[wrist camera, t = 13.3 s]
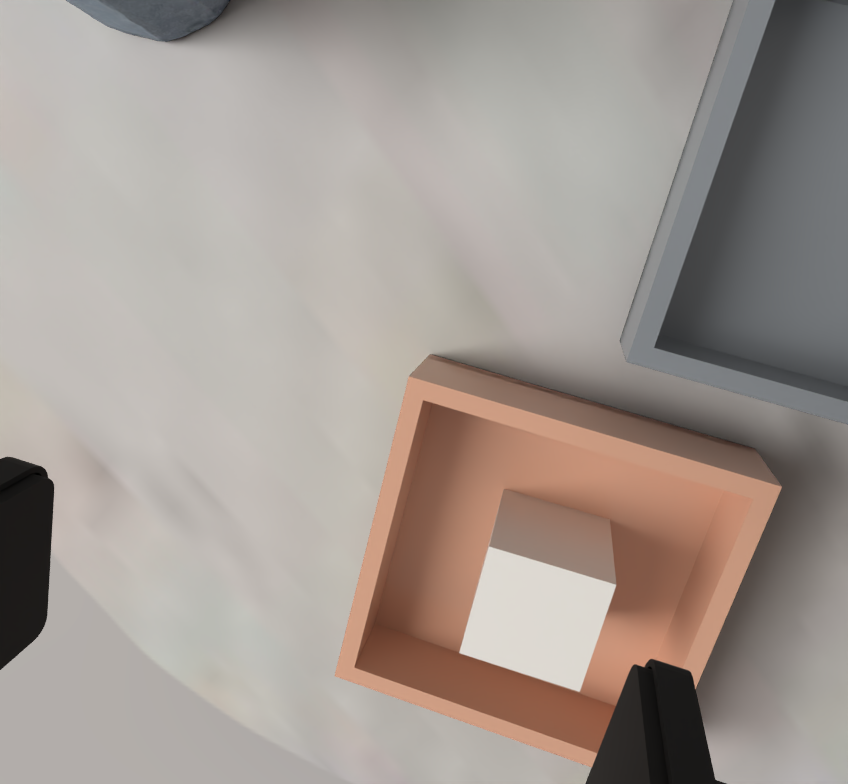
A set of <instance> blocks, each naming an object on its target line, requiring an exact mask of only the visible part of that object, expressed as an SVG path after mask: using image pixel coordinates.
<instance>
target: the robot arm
mask: <svg viewBox="0 0 848 784" xmlns="http://www.w3.org/2000/svg"><path fill="white" fill-rule="evenodd" d="M53 501H54V484H53V482H52V480H50V479H49V478H48V474H47V472H46V470H45V469H44V468H43V467H41V466H38V465H35V464H32V463H29V462H25V461H22V460H19V459H16V458H13V457H5V458H2V459H0V670H1V669H2V668H3V667H4V666H5V665H6V664H8V663H9V662H10V661H11V660H12V659H13V658H15V657H16V656H17V655H18V654H19V653H20V652H21V651H23V650H24V649H25V648H26V647H27V646H28V645H29V644H30V643H32V642H33V641H34V640H35V639H36V638H37V637H38V635H39V634H40V633H41V631H42V629H43V627H44V625H45V622H46V619H47V609H48V590H49V572H50V555H51V537H52V519H53ZM586 784H726V783H723V782H720V781H717V780H715V777H714V772H713V767H712V763H711V758H710V754H709V749H708V744H707V740H706V735H705V731H704V726H703V722H702V717H701V712H700V708H699V703H698V699H697V694H696V689H695V685H694V680H693V676H692V674H691V672H690V671H689V670H686V669H683V668H680V667H677V666H673V665H670V664H667V663H664V662H661V661H658V660H654V659H650V660H648V662H647V663H646V665H645V667H642V666H639V665H636V664H634V665H633V666H632V667H631V669H630V671H629V674H628V676H627V679H626V681H625V684H624V686H623V689H622V692H621V694H620V697H619V699H618V702H617V704H616V707H615V710H614V712H613V715H612V717H611V720H610V722H609V725H608V727H607V730H606V733H605V735H604V738H603V740H602V743H601V745H600V748H599V750H598V753H597V756H596V758H595V761H594V763H593V766H592V768H591V771H590V774H589V776H588V779H587V781H586Z"/></svg>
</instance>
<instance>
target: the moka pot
mask: <svg viewBox="0 0 848 784" xmlns="http://www.w3.org/2000/svg"><path fill="white" fill-rule="evenodd" d="M66 1H67V2H69V3H71V4H72V5H74V6H76V7H77V8H79V9H81V10H82V11H84V12H85V13H87V14H88V15H90V16H91V17H92V18H94V19H96V20H97V21H99V22H101V23H103V24H104V25H106V26H108V27H110V28H113V29H116V30H119V31H122V32H124V33H127V34H131V35H137V36H140V37H144V38H149V39H153V40H156V41H165V42H167V41H170V40H173V39H177V38H181V37H184V36H186V35H188V34H189V33H191V32H193V31H196V30H199V29H201V28H202V27H204V26H206V25H209V24H210V23H211V22H212V21H213V20H215V19H216V18H217V17H218V16H219V15H220V14H221V13H222V11H223V10H224V8H225V7H226V5H227V4H228V2H229V1H230V0H66Z"/></svg>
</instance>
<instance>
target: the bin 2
mask: <svg viewBox="0 0 848 784" xmlns="http://www.w3.org/2000/svg"><path fill="white" fill-rule="evenodd" d="M620 343H621V346H622V349H623V353H624V356H625V359H626V362H628V363H632V364H635V365H639V366H643V367H646V368H650V369H653V370H657V371H660V372H664V373H667V374H671V375H674V376H678V377H681V378H685V379H689V380H692V381H696V382H699V383H703V384H706V385H710V386H713V387H717V388H720V389H724V390H728V391H731V392H735V393H738V394H742V395H745V396H749V397H752V398H756V399H759V400H763V401H766V402H770V403H774V404H777V405H781V406H784V407H788V408H791V409H795V410H798V411H802V412H805V413H809V414H812V415H816V416H820V417H823V418H827V419H830V420H834V421H837V422H841V423H844V424H848V0H733V3H732V6H731V9H730V12H729V15H728V18H727V21H726V24H725V27H724V30H723V33H722V36H721V39H720V42H719V45H718V48H717V51H716V54H715V57H714V60H713V63H712V66H711V69H710V72H709V75H708V78H707V81H706V84H705V87H704V90H703V93H702V96H701V99H700V102H699V105H698V108H697V111H696V114H695V117H694V120H693V123H692V126H691V129H690V132H689V135H688V138H687V141H686V144H685V147H684V150H683V153H682V156H681V159H680V162H679V165H678V168H677V171H676V174H675V177H674V180H673V183H672V186H671V189H670V192H669V195H668V198H667V201H666V204H665V207H664V210H663V213H662V216H661V219H660V222H659V225H658V228H657V231H656V234H655V237H654V239H653V242H652V245H651V248H650V251H649V254H648V257H647V260H646V263H645V266H644V269H643V272H642V275H641V278H640V281H639V284H638V287H637V290H636V293H635V296H634V299H633V302H632V305H631V308H630V311H629V314H628V317H627V320H626V323H625V326H624V329H623V332H622V335H621V338H620Z"/></svg>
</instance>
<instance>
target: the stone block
mask: <svg viewBox="0 0 848 784" xmlns="http://www.w3.org/2000/svg"><path fill="white" fill-rule="evenodd" d="M615 588H616V576H615V566H614V556H613V546H612V536H611V526H610V519H607V518H603V517H600V516H596V515H593V514H589V513H586V512H582V511H579V510H576V509H572V508H569V507H565V506H562V505H558V504H555V503H551V502H548V501H545V500H541V499H538V498H534V497H531V496H527V495H524V494H520V493H517V492H513V491H510V490H507V489H504V490H503V493H502V497H501V500H500V504H499V508H498V511H497V515H496V518H495V522H494V526H493V529H492V533H491V536H490V540H489V544H488V547H487V551H486V554H485V558H484V561H483V565H482V569H481V572H480V576H479V579H478V583H477V587H476V591H475V595H474V598H473V602H472V606H471V610H470V614H469V618H468V621H467V625H466V629H465V633H464V637H463V640H462V644H461V648H460V652H459V653H460V654H464V655H467V656H470V657H473V658H476V659H479V660H482V661H485V662H488V663H491V664H494V665H498V666H501V667H504V668H507V669H510V670H513V671H516V672H519V673H522V674H525V675H529V676H532V677H535V678H538V679H541V680H544V681H547V682H550V683H553V684H556V685H560V686H563V687H566V688H569V689H572V690H575V691H578V692H580V690H581V687H582V684H583V681H584V678H585V675H586V672H587V669H588V666H589V663H590V660H591V658H592V655H593V652H594V649H595V646H596V643H597V640H598V637H599V634H600V631H601V628H602V625H603V623H604V620H605V617H606V614H607V611H608V608H609V605H610V602H611V599H612V596H613V593H614V591H615Z"/></svg>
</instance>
